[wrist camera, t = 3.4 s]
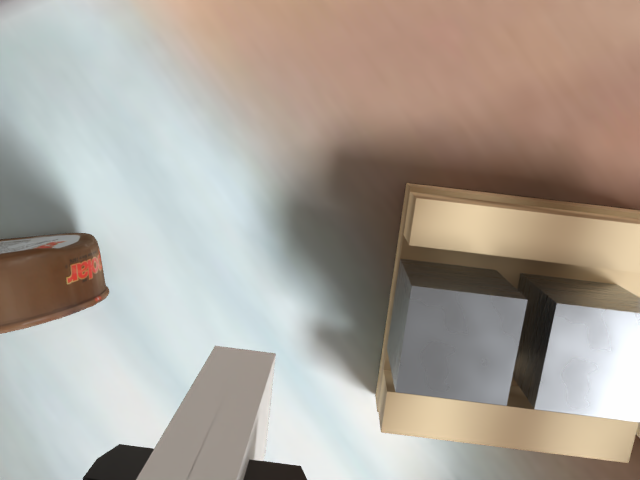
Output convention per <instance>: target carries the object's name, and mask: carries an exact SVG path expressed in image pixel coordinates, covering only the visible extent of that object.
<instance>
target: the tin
mask: <svg viewBox="0 0 640 480" xmlns="http://www.w3.org/2000/svg"><path fill="white" fill-rule="evenodd" d="M108 294H109V289H108V287H107V286H106V285H105V279H104V273H103V267H102V261H101V256H100V251H99V246H98V243H97V241H96V239H95V238H94V236H92V235H90V234H86V233H65V234H55V235H43V236H33V237H24V238H13V239H3V240H0V334H2V333H7V332H11V331H15V330H20V329H24V328H28V327H31V326H35V325H39V324H43V323H46V322H49V321H52V320H56V319H60V318H62V317H65V316H68V315H71V314H73V313H76V312H79V311H81V310H84V309H86V308H88V307H91V306H93V305H95V304H97V303H98V302H100V301H102V300H104V299H105V298H106V297H107V296H108Z"/></svg>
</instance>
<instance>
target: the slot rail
mask: <svg viewBox="0 0 640 480" xmlns="http://www.w3.org/2000/svg"><path fill="white" fill-rule="evenodd" d="M400 259H409V260H417V261H425V262H434V263H442V264H450V265H459V266H467V267H475V268H484V269H492V270H497V271H498V272H499V273H500V274H501V275H502V276H503V277H504V278H505V279H506V280H507V281H508V282H509V283H511V284H512V285H513V286H514V287H515V288H516V289H517V288H518V282H519V277H520V273H526V274H534V275H542V276H551V277H559V278H567V279H576V280H584V281H592V282H601V283H609V284H617V285H619V286H621V287H622V288H624V289H626V290H628V291H629V292H631V293H633V294H634V295H636V296H638V297H639V296H640V210H632V209H624V208H615V207H607V206H598V205H590V204H581V203H573V202H564V201H556V200H547V199H539V198H530V197H522V196H513V195H505V194H496V193H488V192H479V191H471V190H462V189H454V188H445V187H437V186H428V185H420V184H411V183H406V189H405V196H404V203H403V210H402V217H401V224H400V230H399V237H398V244H397V251H396V258H395V265H394V271H393V278H392V285H391V292H390V299H389V306H388V313H387V319H386V326H385V333H384V340H383V347H382V354H381V361H380V367H379V374H378V381H377V388H376V395H375V396H376V405H377V412H379V420H380V428H381V432H383V433H391V434H399V435H407V436H415V437H423V438H431V439H439V440H447V441H455V442H463V443H471V444H480V445H488V446H496V447H504V448H512V449H520V450H528V451H536V452H544V453H552V454H560V455H568V456H576V457H584V458H592V459H600V460H608V461H616V462H624V463H629V459H630V455H631V451H632V447H633V443H634V439H635V435H636V431H637V428H638V424H639V422H634V421H625V420H617V419H609V418H601V417H593V416H585V415H577V414H569V413H561V412H552V411H544V410H536V409H534V408H533V406H532V405H531V403H530V402H529V400H528V399H527V398H526V396H525V395H524V393H523V392H522V390H521V389H520V387H519V386H518V384H517V383H516V381H515V380H514V378H513V377H512V381H511V386H510V391H509V396H508V401H507V406H504V405H496V404H488V403H480V402H471V401H463V400H455V399H447V398H439V397H431V396H423V395H415V394H407V393H398V392H395V387H394V382H393V377H392V372H391V367H390V362H389V357H388V352H387V343H388V336H389V330H390V323H391V316H392V309H393V303H394V296H395V289H396V282H397V276H398V269H399V262H400Z"/></svg>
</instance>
